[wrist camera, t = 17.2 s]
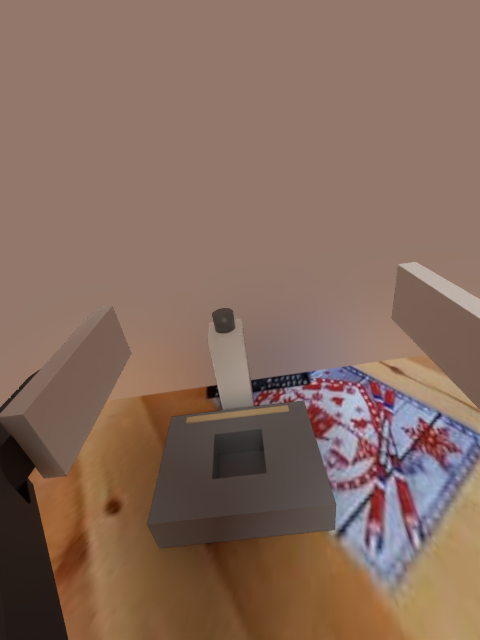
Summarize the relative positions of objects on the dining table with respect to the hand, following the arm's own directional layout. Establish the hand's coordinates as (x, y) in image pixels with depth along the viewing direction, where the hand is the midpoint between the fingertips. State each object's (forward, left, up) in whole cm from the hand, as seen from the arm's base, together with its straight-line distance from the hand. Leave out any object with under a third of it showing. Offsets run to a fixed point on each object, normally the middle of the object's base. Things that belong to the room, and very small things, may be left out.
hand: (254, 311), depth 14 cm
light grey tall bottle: (+3, -18, -24) cm, 30 cm away
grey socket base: (+3, -8, -24) cm, 25 cm away
